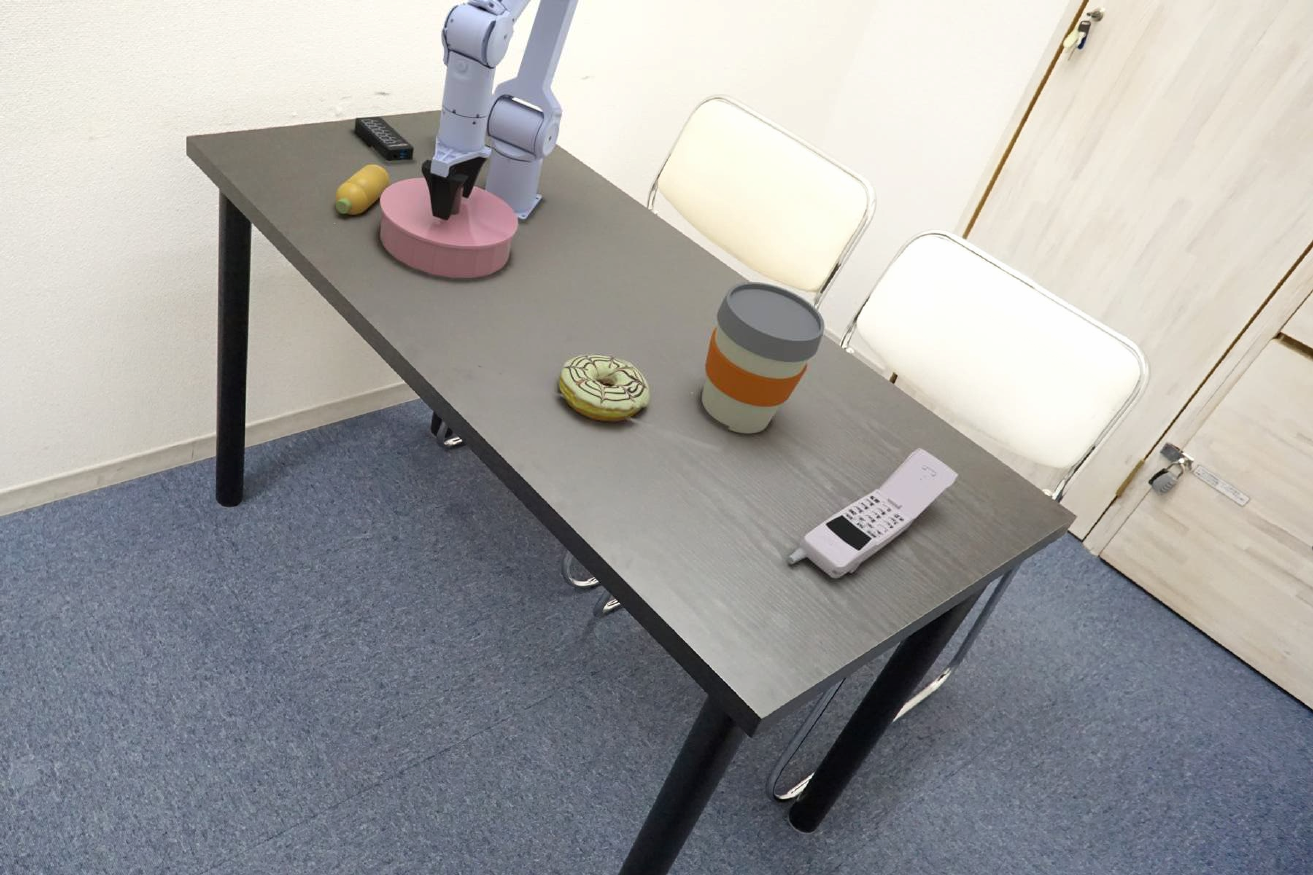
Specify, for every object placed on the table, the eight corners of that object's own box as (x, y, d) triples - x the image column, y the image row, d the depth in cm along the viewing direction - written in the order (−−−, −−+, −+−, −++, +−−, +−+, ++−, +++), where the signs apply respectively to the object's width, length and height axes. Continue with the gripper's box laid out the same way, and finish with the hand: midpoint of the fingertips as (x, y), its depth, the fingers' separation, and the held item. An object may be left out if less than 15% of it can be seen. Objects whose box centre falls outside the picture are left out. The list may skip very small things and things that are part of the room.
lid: (411, 172, 135) (415, 139, 132) (533, 213, 135) (539, 181, 133) (355, 222, 121) (358, 187, 118) (491, 268, 121) (497, 234, 118)
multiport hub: (379, 130, 153) (380, 116, 152) (413, 162, 148) (415, 148, 146) (353, 131, 150) (354, 117, 149) (387, 164, 145) (388, 149, 144)
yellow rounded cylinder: (361, 178, 138) (371, 153, 135) (387, 195, 139) (399, 171, 136) (321, 210, 128) (332, 185, 126) (350, 229, 129) (362, 204, 126)
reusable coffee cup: (717, 448, 112) (759, 345, 103) (670, 382, 120) (705, 281, 111) (801, 437, 119) (847, 339, 109) (751, 376, 126) (790, 279, 117)
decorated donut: (661, 414, 114) (670, 390, 112) (592, 437, 108) (600, 412, 105) (608, 365, 119) (616, 340, 117) (539, 383, 113) (546, 358, 110)
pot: (410, 203, 138) (414, 170, 135) (523, 241, 138) (529, 209, 135) (358, 253, 124) (361, 218, 121) (483, 295, 124) (490, 261, 121)
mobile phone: (962, 474, 111) (845, 555, 94) (940, 510, 115) (824, 595, 98) (920, 444, 114) (799, 518, 97) (899, 481, 117) (780, 558, 100)
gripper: (476, 137, 113) (460, 238, 121) (513, 101, 125) (497, 195, 133) (419, 118, 113) (408, 220, 121) (462, 84, 125) (449, 179, 133)
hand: (451, 206), depth 127 cm, fingers open, 7 cm apart
